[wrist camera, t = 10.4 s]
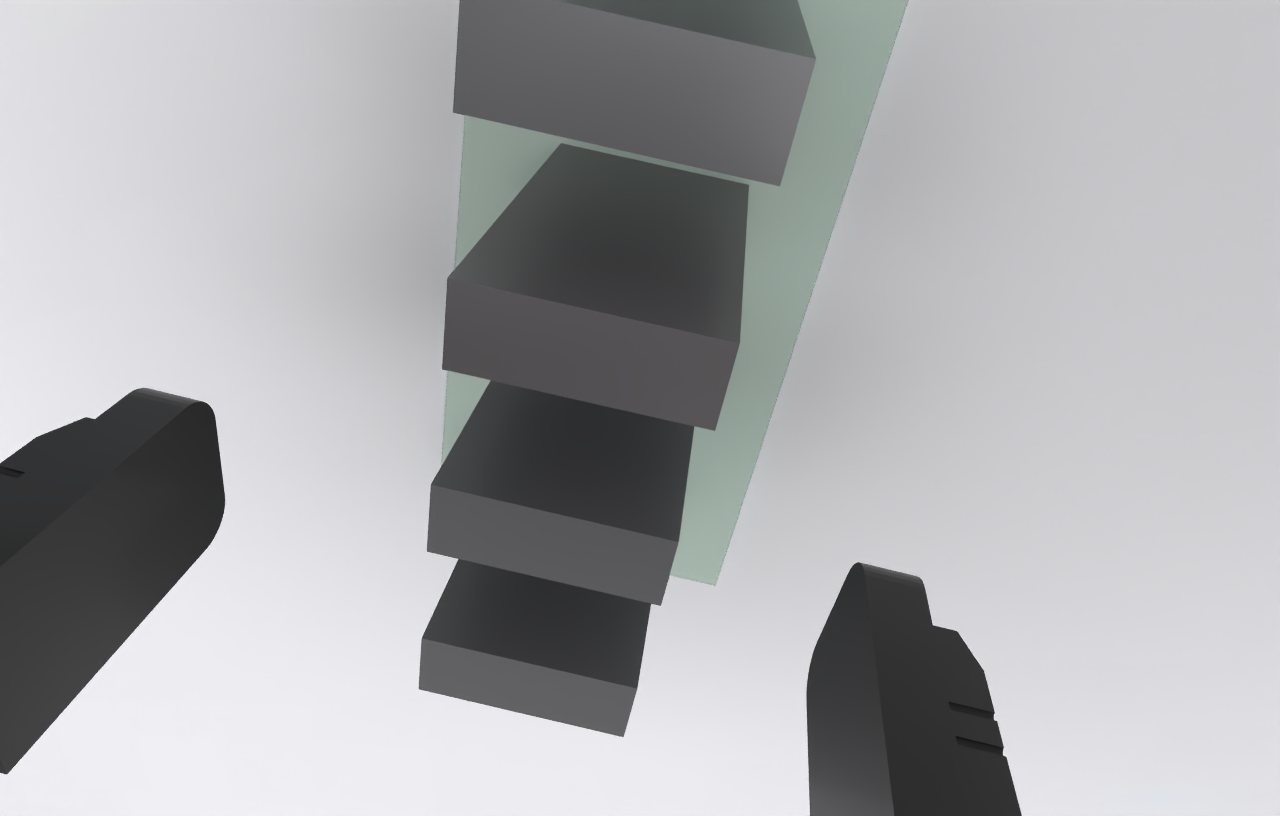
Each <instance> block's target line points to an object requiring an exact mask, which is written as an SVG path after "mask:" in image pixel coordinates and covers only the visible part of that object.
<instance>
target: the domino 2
mask: <svg viewBox="0 0 1280 816" xmlns="http://www.w3.org/2000/svg"><path fill="white" fill-rule="evenodd" d="M748 195H749V185H747V184H743V183H738V182H734V181H729V180H725V179H720V178H716V177H711V176H707V175H702V174H698V173H693V172H689V171H684V170H680V169H675V168H671V167H666V166H662V165H657V164H653V163H648V162H644V161H639V160H635V159H630V158H626V157H621V156H617V155H612V154H608V153H603V152H599V151H594V150H590V149H585V148H581V147H577V146H572V145H568V144H563V143H561V144H560V145H559V146H558V147H557V148H556V149H555V151H554V152H553V153H552V154H551V155H550V157H549V158H548V159H547V160H546V161H545V163H544V164H543V165H542V166H541V167H540V168H539V170H538V171H537V172H536V173H535V174H534V176H533V177H532V178H531V179H530V180H529V182H528V183H527V184H526V185H525V186H524V188H523V189H522V190H521V191H520V192H519V193H518V195H517V196H516V197H515V198H514V199H513V201H512V202H511V203H510V204H509V205H508V207H507V208H506V209H505V210H504V211H503V212H502V214H501V215H500V216H499V217H498V218H497V220H496V221H495V222H494V223H493V224H492V226H491V227H490V228H489V229H488V230H487V231H486V233H485V234H484V235H483V236H482V237H481V239H480V240H479V241H478V242H477V243H476V245H475V246H474V247H473V248H472V249H471V251H470V252H469V253H468V254H467V255H466V256H465V258H464V259H463V260H462V261H461V262H460V264H459V265H458V266H457V267H456V268H455V270H454V271H453V272H452V273H451V274H450V275H449V277H448V278H447V296H446V313H445V330H444V347H443V364H442V369H443V370H448V371H452V372H456V373H461V374H465V375H470V376H474V377H478V378H483V379H487V380H492V381H496V382H501V383H505V384H509V385H514V386H518V387H523V388H527V389H531V390H536V391H540V392H545V393H549V394H554V395H558V396H562V397H567V398H571V399H576V400H580V401H584V402H589V403H593V404H598V405H602V406H607V407H611V408H615V409H620V410H624V411H629V412H633V413H637V414H642V415H646V416H651V417H655V418H660V419H664V420H668V421H673V422H677V423H682V424H686V425H690V426H695V427H699V428H704V429H708V430H713V431H715V430H716V426H717V423H718V419H719V416H720V412H721V409H722V405H723V402H724V398H725V394H726V391H727V387H728V384H729V380H730V377H731V373H732V370H733V366H734V363H735V359H736V356H737V352H738V349H739V345H740V333H741V316H742V299H743V281H744V264H745V247H746V229H747V212H748Z"/></svg>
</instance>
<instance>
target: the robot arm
mask: <svg viewBox="0 0 1280 816" xmlns="http://www.w3.org/2000/svg"><path fill="white" fill-rule="evenodd" d="M224 508H225V493H224V485H223V477H222V469H221V460H220V452H219V444H218V436H217V428H216V420H215V415H214V412H213V410H212V408H211V407H210V406H209V405H208V404H207V403H205V402H202V401H198V400H194V399H190V398H185V397H181V396H177V395H173V394H169V393H165V392H161V391H156V390H152V389H148V388H140V389H137V390H134V391H132V392H131V393H129V394H128V395H126V396H125V397H124V398H122V399H121V400H120V401H118V402H117V403H116V404H114V405H113V406H112V407H110V408H109V409H108V410H107V411H105V412H104V413H103V414H101V415H100V416H99V417H97V418H96V419H91V418H87V417H86V418H83V419H81V420H78V421H76V422H73V423H71V424H68V425H66V426H63V427H61V428H58V429H56V430H53V431H51V432H48V433H46V434H43V435H41V436H38V437H36V438H35V439H33V440H32V441H30V442H29V443H28V444H26V445H25V446H24V447H22V448H21V449H19V450H18V451H17V452H15V453H14V454H13V455H11V456H10V457H8V458H7V459H6V460H4V461H3V462H1V463H0V773H3V774H8V773H9V772H10V771H11V769H12V768H13V767H14V766H15V765H16V764H17V763H18V761H19V760H20V759H21V758H22V757H23V756H24V755H25V754H26V752H27V751H28V750H29V749H30V748H31V747H32V746H33V744H34V743H35V742H36V741H37V740H38V739H39V738H40V737H41V735H42V734H43V733H44V732H45V731H46V730H47V729H48V728H49V726H50V725H51V724H52V723H53V722H54V721H55V720H56V718H57V717H58V716H59V715H60V714H61V713H62V712H63V711H64V709H65V708H66V707H67V706H68V705H69V704H70V703H71V701H72V700H73V699H74V698H75V697H76V696H77V695H78V694H79V692H80V691H81V690H82V689H83V688H84V687H85V686H86V685H87V683H88V682H89V681H90V680H91V679H92V678H93V677H94V675H95V674H96V673H97V672H98V671H99V670H100V669H101V668H102V666H103V665H104V664H105V663H106V662H107V661H108V660H109V658H110V657H111V656H112V655H113V654H114V653H115V652H116V651H117V649H118V648H119V647H120V646H121V645H122V644H123V643H124V642H125V640H126V639H127V638H128V637H129V636H130V635H131V634H132V632H133V631H134V630H135V629H136V628H137V627H138V626H139V625H140V623H141V622H142V621H143V620H144V619H145V618H146V617H147V615H148V614H149V613H150V612H151V611H152V610H153V609H154V608H155V606H156V605H157V604H158V603H159V602H160V601H161V600H162V598H163V597H164V596H165V595H166V594H167V593H168V592H169V591H170V589H171V588H172V587H173V586H174V585H175V584H176V583H177V582H178V580H179V579H180V578H181V577H182V576H183V575H184V574H185V572H186V571H187V570H188V569H189V568H190V567H191V566H192V565H193V563H194V562H195V561H196V560H197V559H198V558H199V557H200V555H201V554H202V553H203V552H204V551H205V550H206V549H207V547H208V546H209V545H210V543H211V542H212V540H213V539H214V537H215V535H216V533H217V531H218V529H219V527H220V524H221V521H222V517H223V514H224ZM994 713H995V712H994V708H993V704H992V700H991V696H990V693H989V689H988V685H987V681H986V677H985V673H984V670H983V669H982V668H981V666H980V665H979V663H978V662H977V660H976V659H975V657H974V656H973V654H972V653H971V651H970V650H969V648H968V647H967V645H966V644H965V642H964V641H963V639H962V638H961V636H960V635H959V633H958V632H957V631H954V630H950V629H946V628H942V627H937V626H933V625H932V620H931V615H930V610H929V605H928V601H927V596H926V591H925V587H924V584H923V582H922V580H921V579H920V578H919V577H917V576H913V575H909V574H905V573H901V572H897V571H892V570H888V569H884V568H880V567H876V566H872V565H868V564H863V563H859V562H858V563H856V564H854V565H853V566H852V568H851V569H850V571H849V573H848V575H847V577H846V579H845V582H844V584H843V586H842V588H841V590H840V593H839V595H838V597H837V599H836V602H835V604H834V606H833V608H832V610H831V613H830V615H829V617H828V619H827V621H826V624H825V626H824V628H823V630H822V633H821V635H820V637H819V639H818V641H817V644H816V646H815V649H814V652H813V655H812V659H811V663H810V668H809V674H808V681H807V731H808V763H809V796H810V816H1022V815H1021V811H1020V808H1019V804H1018V800H1017V796H1016V792H1015V788H1014V785H1013V781H1012V777H1011V773H1010V769H1009V765H1008V762H1007V758H1006V757H1005V756H1003V748H1004V746H1003V742H1002V739H1001V735H1000V731H999V727H998V723H997V721H995V720H994Z"/></svg>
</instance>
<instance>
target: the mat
mask: <svg viewBox="0 0 1280 816" xmlns="http://www.w3.org/2000/svg"><path fill="white" fill-rule="evenodd" d="M798 3H799V6H800V10H801V13H802V16H803V19H804V22H805V25H806V28H807V32H808V35H809V38H810V41H811V44H812V47H813V50H814V54H815V57H816V62H815V65H814V69H813V72H812V76H811V79H810V83H809V86H808V90H807V94H806V97H805V101H804V104H803V108H802V111H801V115H800V118H799V122H798V125H797V129H796V132H795V136H794V139H793V143H792V146H791V150H790V153H789V157H788V160H787V164H786V167H785V171H784V174H783V178H782V181H781V185H780V186H776V185H771V184H767V183H762V182H758V181H754V180H749V179H745V178H740V177H736V176H732V175H727V174H723V173H718V172H714V171H709V170H705V169H701V168H696V167H692V166H687V165H683V164H679V163H674V162H670V161H665V160H661V159H657V158H652V157H648V156H643V155H639V154H634V153H630V152H626V151H621V150H617V149H612V148H608V147H604V146H599V145H595V144H590V143H586V142H582V141H577V140H573V139H568V138H564V137H559V136H555V135H551V134H546V133H542V132H537V131H533V130H529V129H524V128H520V127H515V126H511V125H506V124H502V123H498V122H493V121H489V120H484V119H480V118H476V117H471V116H467V115H465V122H464V137H463V152H462V167H461V181H460V196H459V211H458V226H457V241H456V256H455V268H456V267H457V266H458V265H459V264H460V262H461V261H462V260H463V259H464V258H465V256H466V255H467V254H468V253H469V252H470V251H471V249H472V248H473V247H474V246H475V245H476V243H477V242H478V241H479V240H480V239H481V237H482V236H483V235H484V234H485V233H486V231H487V230H488V229H489V228H490V227H491V226H492V224H493V223H494V222H495V221H496V220H497V218H498V217H499V216H500V215H501V214H502V212H503V211H504V210H505V209H506V208H507V207H508V205H509V204H510V203H511V202H512V201H513V199H514V198H515V197H516V196H517V195H518V193H519V192H520V191H521V190H522V189H523V188H524V186H525V185H526V184H527V183H528V182H529V180H530V179H531V178H532V177H533V176H534V174H535V173H536V172H537V171H538V170H539V168H540V167H541V166H542V165H543V164H544V163H545V161H546V160H547V159H548V158H549V157H550V155H551V154H552V153H553V152H554V151H555V149H556V148H557V147H558V146H559V145H560V144H561V143H563V144H568V145H572V146H577V147H581V148H585V149H590V150H594V151H599V152H603V153H608V154H612V155H617V156H621V157H626V158H630V159H635V160H639V161H644V162H648V163H653V164H657V165H662V166H666V167H671V168H675V169H680V170H684V171H689V172H693V173H698V174H702V175H707V176H711V177H716V178H720V179H725V180H729V181H734V182H738V183H743V184H747V185H749V195H748V212H747V229H746V247H745V264H744V281H743V299H742V316H741V333H740V345H739V349H738V352H737V356H736V359H735V363H734V366H733V370H732V373H731V377H730V380H729V384H728V387H727V391H726V394H725V398H724V402H723V405H722V409H721V412H720V416H719V419H718V423H717V426H716V430H715V431H713V430H708V429H704V428H699V427H695V426H694V434H693V441H692V448H691V456H690V463H689V471H688V478H687V486H686V493H685V500H684V508H683V515H682V523H681V530H680V537H679V543H678V547H677V550H676V554H675V557H674V561H673V564H672V568H671V572H670V575H672V576H676V577H680V578H685V579H689V580H693V581H698V582H702V583H706V584H710V585H716V582H717V579H718V576H719V573H720V570H721V567H722V564H723V561H724V558H725V555H726V552H727V549H728V546H729V543H730V540H731V537H732V534H733V530H734V527H735V524H736V521H737V518H738V515H739V512H740V509H741V506H742V503H743V500H744V497H745V494H746V491H747V488H748V485H749V482H750V479H751V476H752V473H753V470H754V467H755V464H756V461H757V458H758V455H759V452H760V449H761V446H762V443H763V440H764V437H765V434H766V430H767V427H768V424H769V421H770V418H771V415H772V412H773V409H774V406H775V403H776V400H777V397H778V394H779V391H780V388H781V385H782V382H783V379H784V376H785V373H786V370H787V367H788V364H789V361H790V358H791V355H792V352H793V349H794V346H795V343H796V340H797V337H798V333H799V330H800V327H801V324H802V321H803V318H804V315H805V312H806V309H807V306H808V303H809V300H810V297H811V294H812V291H813V288H814V285H815V282H816V279H817V276H818V273H819V270H820V267H821V264H822V261H823V258H824V255H825V252H826V249H827V246H828V243H829V240H830V237H831V233H832V230H833V227H834V224H835V221H836V218H837V215H838V212H839V209H840V206H841V203H842V200H843V197H844V194H845V191H846V188H847V185H848V182H849V179H850V176H851V173H852V170H853V167H854V164H855V161H856V158H857V155H858V152H859V149H860V146H861V143H862V140H863V136H864V133H865V130H866V127H867V124H868V121H869V118H870V115H871V112H872V109H873V106H874V103H875V100H876V97H877V94H878V91H879V88H880V85H881V82H882V79H883V76H884V73H885V70H886V67H887V64H888V61H889V58H890V55H891V52H892V49H893V46H894V43H895V40H896V36H897V33H898V30H899V27H900V24H901V21H902V18H903V15H904V12H905V9H906V6H907V3H908V0H798ZM490 381H491V380H487V379H483V378H478V377H474V376H470V375H465V374H461V373H456V372H452V371H448V374H447V389H446V404H445V419H444V434H443V448H442V463H441V466H442V464H443V463H444V461H445V459H446V457H447V456H448V454H449V452H450V450H451V449H452V447H453V445H454V443H455V442H456V440H457V438H458V437H459V435H460V433H461V431H462V430H463V428H464V426H465V424H466V423H467V421H468V419H469V417H470V416H471V414H472V412H473V410H474V409H475V407H476V405H477V403H478V402H479V400H480V398H481V396H482V395H483V393H484V391H485V389H486V388H487V386H488V384H489V382H490Z"/></svg>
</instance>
